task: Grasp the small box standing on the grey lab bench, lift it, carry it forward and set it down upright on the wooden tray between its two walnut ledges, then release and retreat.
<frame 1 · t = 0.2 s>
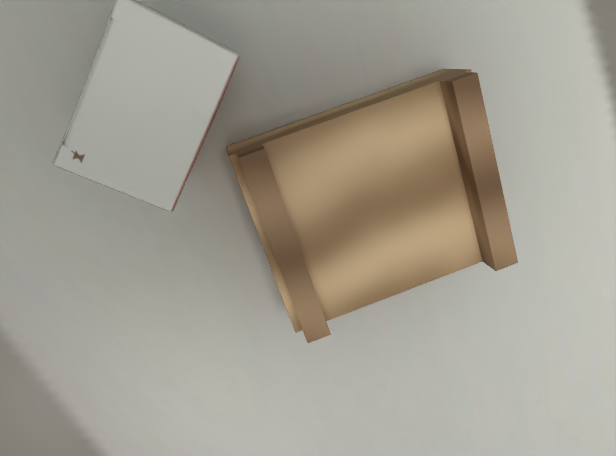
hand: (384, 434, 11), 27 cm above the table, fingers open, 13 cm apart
small box: (164, 97, 34), on the table
wooden tray: (362, 192, 38), on the table
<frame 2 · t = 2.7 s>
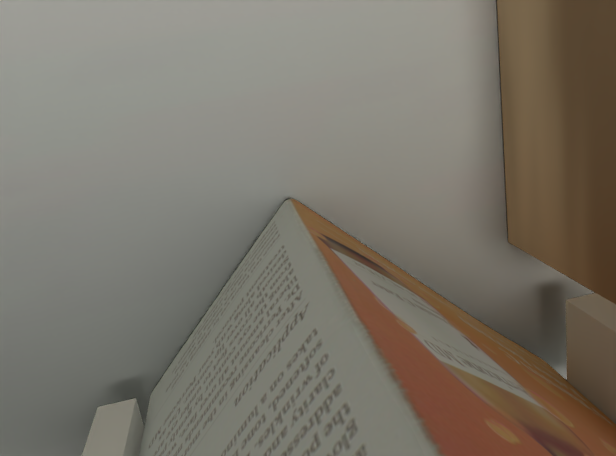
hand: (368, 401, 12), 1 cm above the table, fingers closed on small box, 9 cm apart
small box: (353, 369, 13), on the table, touching gripper
when the fingers open (7 cm above the table, at t = 7.6 s): small box drops 2 cm, resting on wooden tray.
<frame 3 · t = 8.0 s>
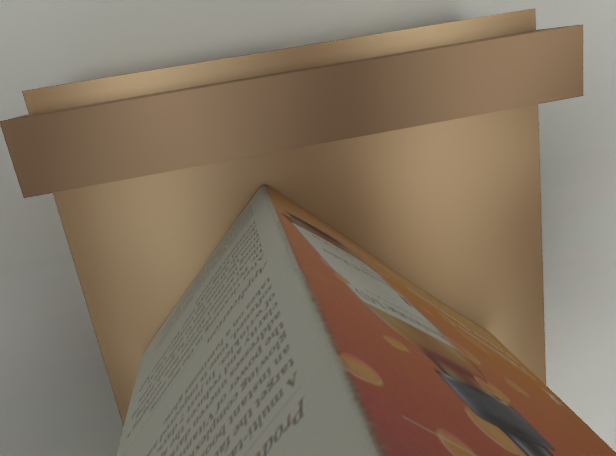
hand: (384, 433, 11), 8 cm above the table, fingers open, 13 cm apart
small box: (321, 337, 15), point 4 cm above the table, touching wooden tray
wooden tray: (311, 282, 19), on the table
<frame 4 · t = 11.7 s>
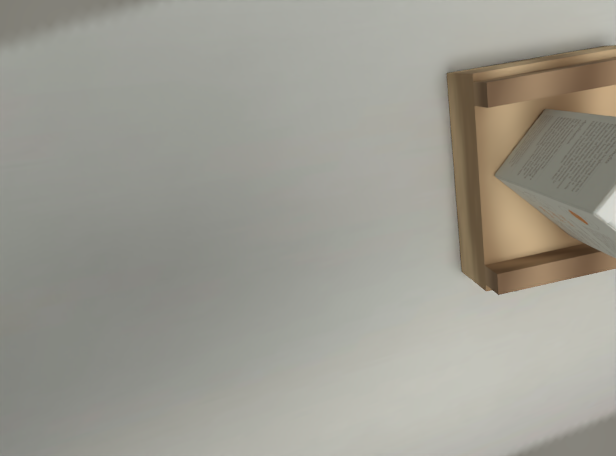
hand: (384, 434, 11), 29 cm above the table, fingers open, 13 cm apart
small box: (555, 173, 38), point 4 cm above the table, touching wooden tray
wooden tray: (530, 163, 41), on the table
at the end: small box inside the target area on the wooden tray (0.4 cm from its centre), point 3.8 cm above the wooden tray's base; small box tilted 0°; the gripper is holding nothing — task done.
